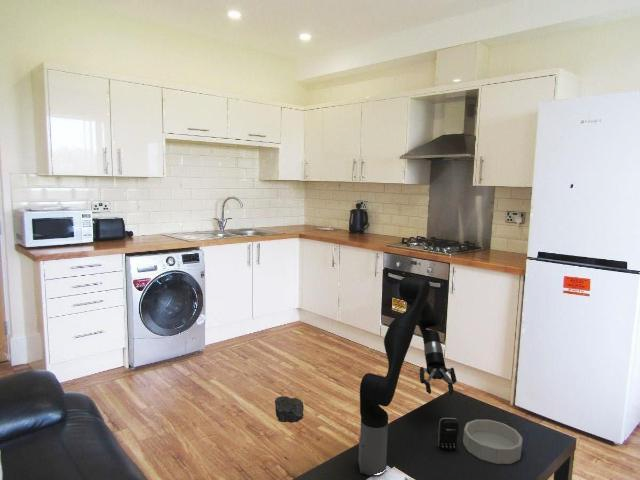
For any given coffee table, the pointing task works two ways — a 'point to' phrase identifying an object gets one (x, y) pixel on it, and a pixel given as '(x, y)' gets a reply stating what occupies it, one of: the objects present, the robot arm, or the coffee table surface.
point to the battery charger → (448, 433)
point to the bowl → (492, 441)
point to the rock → (289, 409)
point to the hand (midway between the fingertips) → (440, 393)
